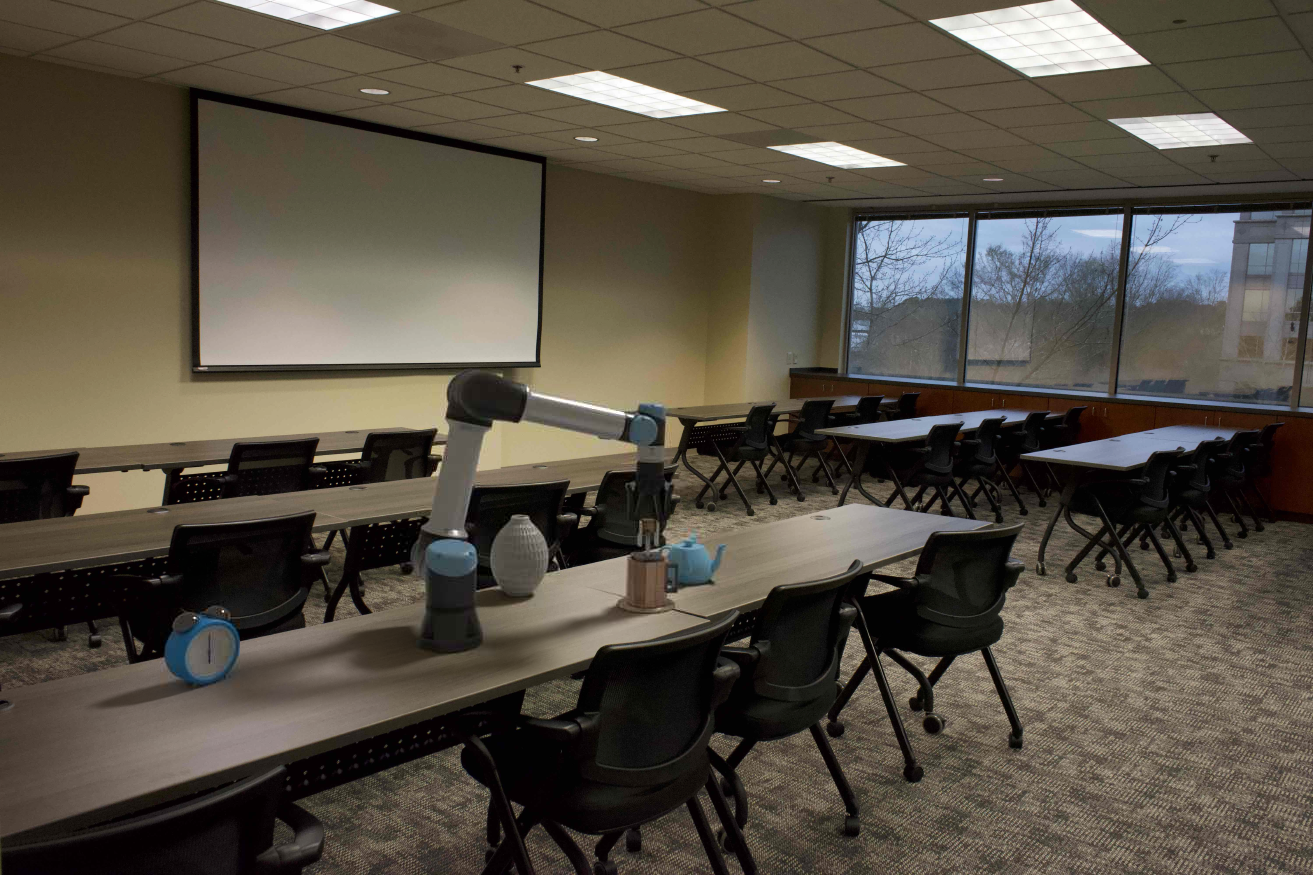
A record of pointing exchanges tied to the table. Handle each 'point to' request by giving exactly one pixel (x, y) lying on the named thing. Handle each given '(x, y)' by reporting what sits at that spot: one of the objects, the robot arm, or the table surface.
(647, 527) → the plunger
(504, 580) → the vase
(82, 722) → the table surface
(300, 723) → the table surface
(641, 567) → the press
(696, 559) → the teapot
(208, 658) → the alarm clock
